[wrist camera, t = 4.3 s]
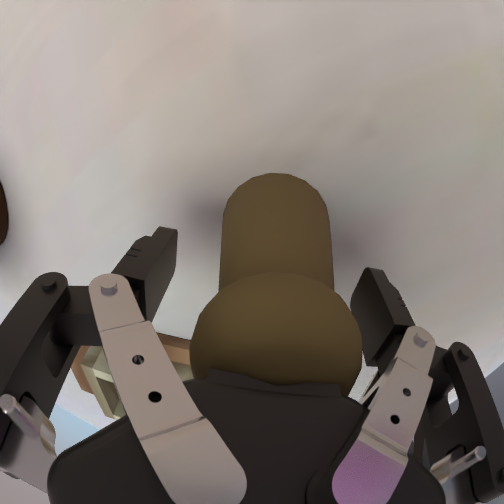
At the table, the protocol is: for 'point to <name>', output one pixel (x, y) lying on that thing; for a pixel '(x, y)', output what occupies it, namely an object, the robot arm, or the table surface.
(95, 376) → the socket board
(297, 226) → the cork
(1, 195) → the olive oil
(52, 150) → the table surface
